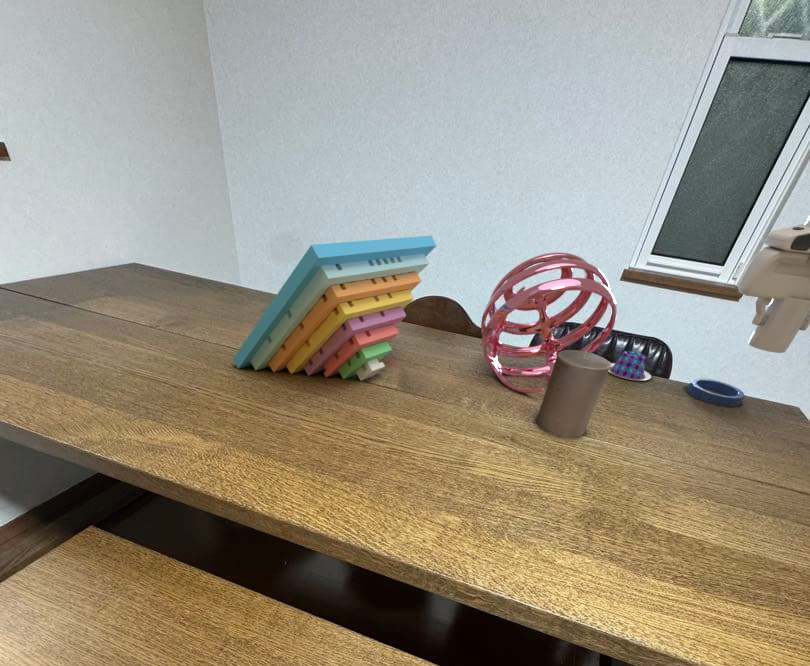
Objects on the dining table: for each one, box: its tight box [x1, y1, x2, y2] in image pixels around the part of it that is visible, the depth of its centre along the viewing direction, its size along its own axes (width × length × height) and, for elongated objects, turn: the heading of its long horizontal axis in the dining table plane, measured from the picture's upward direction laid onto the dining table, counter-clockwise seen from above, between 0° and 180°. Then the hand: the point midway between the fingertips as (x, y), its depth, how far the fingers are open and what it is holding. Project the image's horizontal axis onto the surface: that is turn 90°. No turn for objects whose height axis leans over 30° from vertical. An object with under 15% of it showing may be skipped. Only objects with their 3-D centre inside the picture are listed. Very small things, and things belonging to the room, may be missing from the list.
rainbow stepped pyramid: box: [232, 235, 437, 382], centre depth 97 cm, size 35×18×35 cm
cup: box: [747, 297, 810, 354], centre depth 85 cm, size 6×6×9 cm
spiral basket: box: [480, 251, 618, 394], centre depth 98 cm, size 28×28×27 cm
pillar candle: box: [535, 349, 612, 439], centre depth 85 cm, size 10×10×15 cm
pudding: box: [608, 350, 652, 382], centre depth 118 cm, size 12×12×5 cm
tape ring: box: [686, 377, 745, 408], centre depth 112 cm, size 12×12×2 cm
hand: (777, 327), depth 86 cm, fingers closed on cup, 6 cm apart
